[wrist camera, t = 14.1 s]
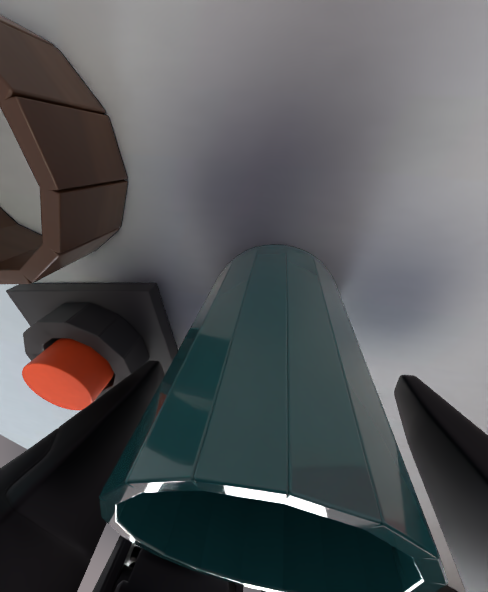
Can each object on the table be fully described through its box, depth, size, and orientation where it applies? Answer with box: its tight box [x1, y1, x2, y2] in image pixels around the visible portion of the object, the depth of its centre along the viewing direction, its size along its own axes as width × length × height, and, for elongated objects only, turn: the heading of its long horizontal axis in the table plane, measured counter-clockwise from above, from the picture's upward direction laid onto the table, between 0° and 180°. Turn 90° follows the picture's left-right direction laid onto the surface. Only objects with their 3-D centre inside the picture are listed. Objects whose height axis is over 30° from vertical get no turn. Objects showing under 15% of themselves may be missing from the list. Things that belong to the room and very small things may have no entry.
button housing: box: [6, 283, 178, 400], centre depth 16 cm, size 10×8×3 cm
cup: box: [99, 244, 448, 592], centre depth 9 cm, size 7×7×10 cm
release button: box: [22, 338, 114, 410], centre depth 14 cm, size 4×4×2 cm
